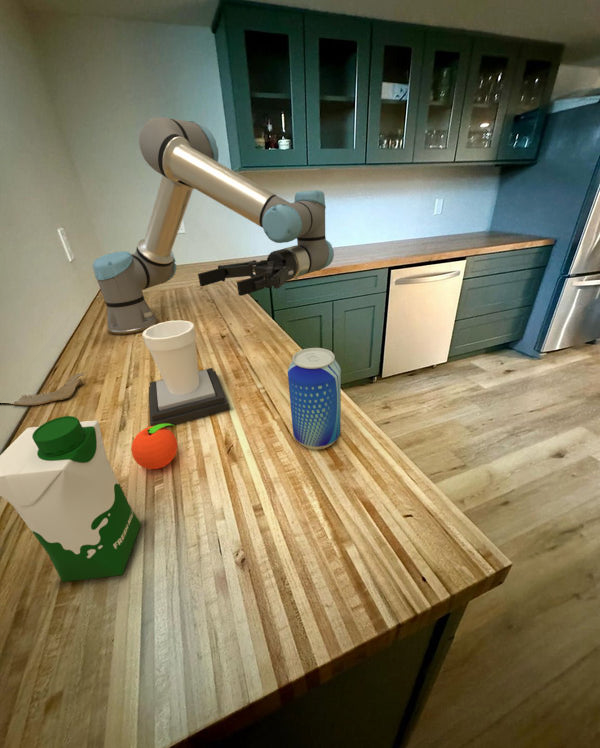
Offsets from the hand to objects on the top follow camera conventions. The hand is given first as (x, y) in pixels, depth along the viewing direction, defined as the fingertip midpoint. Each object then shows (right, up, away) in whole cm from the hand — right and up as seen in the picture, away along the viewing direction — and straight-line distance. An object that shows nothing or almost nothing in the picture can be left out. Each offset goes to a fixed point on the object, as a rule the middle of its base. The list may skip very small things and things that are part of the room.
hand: (218, 284), depth 71 cm
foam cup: (-7, -22, 0) cm, 23 cm away
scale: (-7, -25, +2) cm, 26 cm away
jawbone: (-44, -24, +9) cm, 51 cm away
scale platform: (-7, -23, +1) cm, 24 cm away
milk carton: (-8, -42, -28) cm, 51 cm away
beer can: (+20, -30, -11) cm, 38 cm away
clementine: (-6, -34, -14) cm, 37 cm away
